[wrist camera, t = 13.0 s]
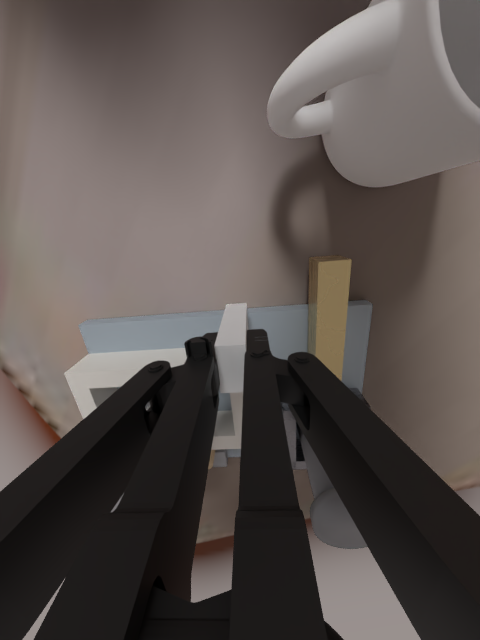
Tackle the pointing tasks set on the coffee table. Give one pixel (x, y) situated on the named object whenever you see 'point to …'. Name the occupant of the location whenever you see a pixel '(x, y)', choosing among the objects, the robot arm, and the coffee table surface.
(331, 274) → the ring lever
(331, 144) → the mug
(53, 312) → the coffee table surface
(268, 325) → the plate
